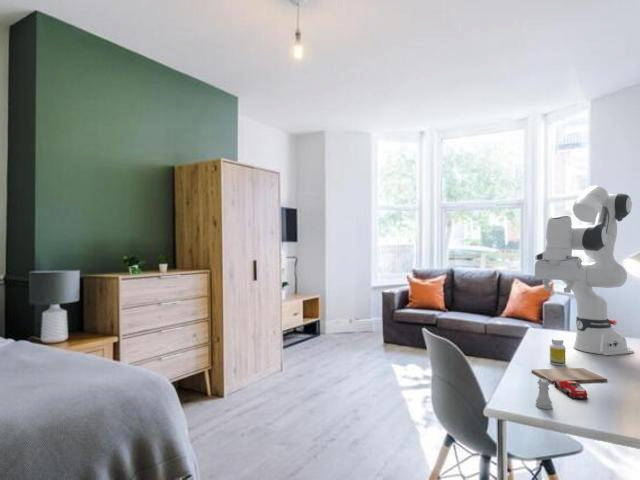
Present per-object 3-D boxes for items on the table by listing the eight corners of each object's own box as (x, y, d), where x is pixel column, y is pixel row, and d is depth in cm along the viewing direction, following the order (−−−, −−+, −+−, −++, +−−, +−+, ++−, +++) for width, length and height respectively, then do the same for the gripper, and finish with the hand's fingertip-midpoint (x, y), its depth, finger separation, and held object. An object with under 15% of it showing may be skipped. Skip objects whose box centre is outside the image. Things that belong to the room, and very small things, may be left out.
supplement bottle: (567, 366, 158) (567, 341, 158) (552, 365, 159) (552, 340, 159) (562, 362, 163) (562, 337, 163) (547, 361, 164) (547, 337, 164)
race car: (551, 385, 138) (551, 374, 138) (568, 386, 138) (568, 374, 138) (571, 400, 125) (571, 387, 125) (590, 401, 125) (589, 388, 125)
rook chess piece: (532, 403, 123) (531, 377, 123) (546, 403, 123) (545, 376, 123) (541, 410, 118) (541, 382, 118) (555, 409, 119) (555, 382, 119)
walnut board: (583, 370, 152) (583, 368, 152) (607, 381, 141) (607, 378, 141) (531, 372, 151) (531, 369, 151) (551, 383, 139) (551, 380, 139)
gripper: (588, 256, 149) (587, 294, 148) (544, 256, 169) (543, 290, 168) (574, 255, 148) (573, 293, 147) (532, 255, 168) (531, 289, 167)
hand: (557, 291), depth 158 cm, fingers open, 8 cm apart
